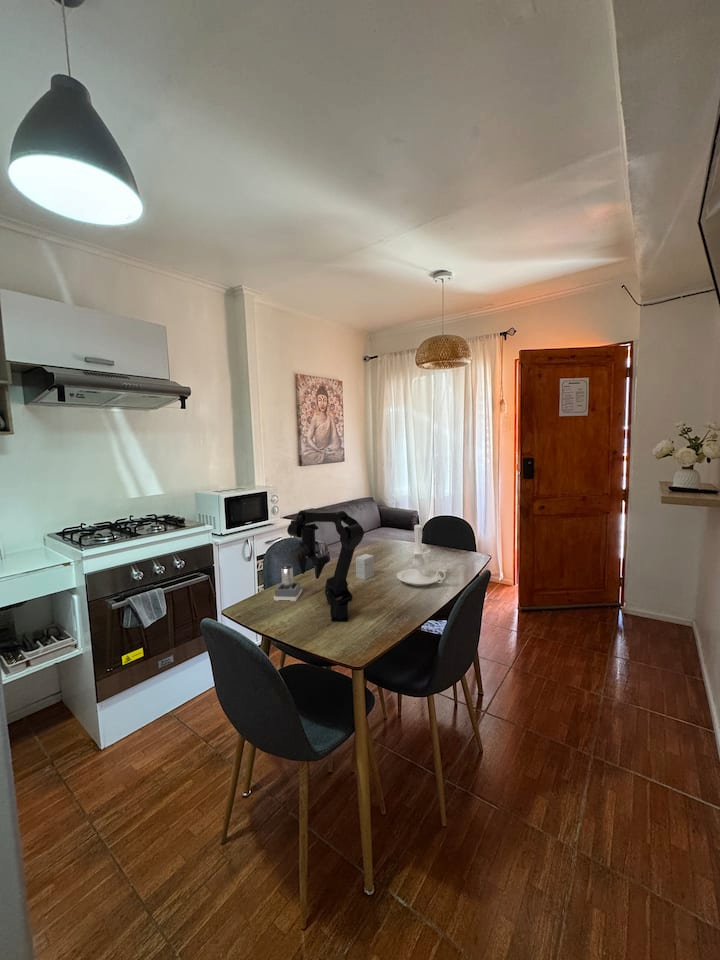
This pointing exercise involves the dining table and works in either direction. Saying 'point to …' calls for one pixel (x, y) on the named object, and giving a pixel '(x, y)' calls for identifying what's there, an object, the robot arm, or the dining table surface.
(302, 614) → the dining table surface
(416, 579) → the candlestick
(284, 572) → the black-capped silver cylinder
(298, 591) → the holder
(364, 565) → the small box
